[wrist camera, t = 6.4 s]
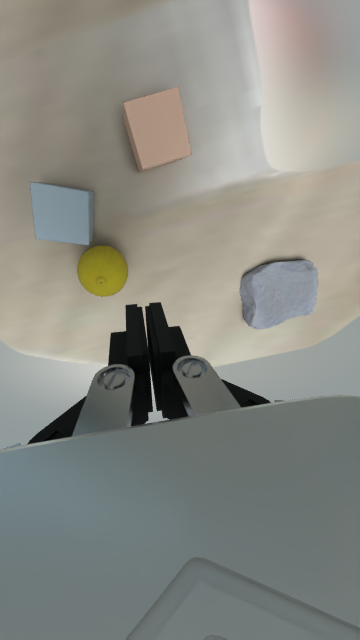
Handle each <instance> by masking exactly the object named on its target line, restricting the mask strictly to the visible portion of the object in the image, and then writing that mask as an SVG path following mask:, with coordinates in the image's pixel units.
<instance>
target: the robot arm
mask: <svg viewBox="0 0 360 640" xmlns="http://www.w3.org/2000/svg"><path fill="white" fill-rule="evenodd" d="M145 310H146V325H147V338H146V331H145V325H144V318H143V311H142V307H137V304H133V305H126V331H124V332H114V333H111V338H110V350H109V363H108V366H107V367H104V368H103V369H101V370H100V371H98V372H97V373H96V374H95V376H94V378H93V380H92V383H91V386H90V388H89V391H88V394H87V396H86V397H84V398H83V399H82V400H80V401H79V402H78V403H77V404H75V405H74V406H72V407H71V408H70V409H69V410H67V411H66V412H65V413H63V414H62V415H61V416H59V417H58V418H57V419H56V420H54V421H53V422H52V423H50V424H49V425H48V426H46V427H45V428H44V429H43V430H41V431H40V432H39V433H38V434H36V435H35V436H34V437H33V438H32V439H31V440H30V441H29V443H28V444H27V445H23V446H21V444H20V443H19V444H16V445H13V446H10V447H7V448H4V449H2V450H0V640H360V396H349V395H331V396H318V397H310V398H303V399H294V400H288V401H282V400H281V401H280V400H275V402H274V403H271V402H270V401H269V400H267V399H265V398H263V397H261V396H259V395H256V394H254V393H252V392H250V391H248V390H245V389H243V388H240V387H238V386H236V385H234V384H231V383H229V382H227V381H225V380H222V379H220V377H219V376H218V375H217V373H216V372H215V370H214V369H213V368H212V366H211V365H210V363H209V362H208V361H207V360H205V359H204V358H202V357H199V356H193V355H191V354H190V352H189V349H188V346H187V344H186V341H185V339H184V336H183V334H182V331H181V328H180V327H179V326H175V327H168V324H167V321H166V318H165V315H164V311H163V308H162V305H161V302H158V303H149V306H145ZM147 339H148V345H147ZM149 361H150V362H149ZM150 368H151V375H152V381H153V388H154V395H155V402H156V409H157V411H161V410H162V416H163V418H168V419H170V420H166V421H159V422H153V423H148V424H145V423H146V421H148V412H153V406H152V393H151V377H150Z"/></svg>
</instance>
